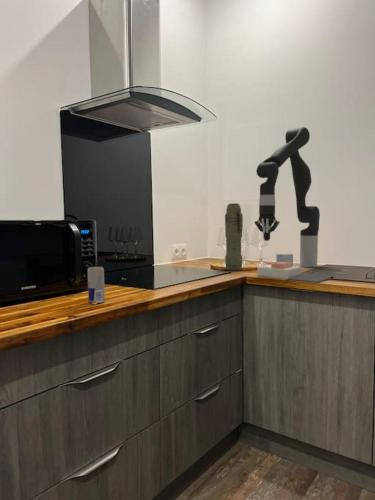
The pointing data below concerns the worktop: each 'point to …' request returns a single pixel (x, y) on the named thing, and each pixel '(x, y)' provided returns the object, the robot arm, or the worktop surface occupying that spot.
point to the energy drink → (96, 285)
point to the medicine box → (284, 258)
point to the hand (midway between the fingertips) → (266, 240)
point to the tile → (281, 265)
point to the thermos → (233, 237)
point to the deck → (279, 271)
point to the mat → (310, 278)
